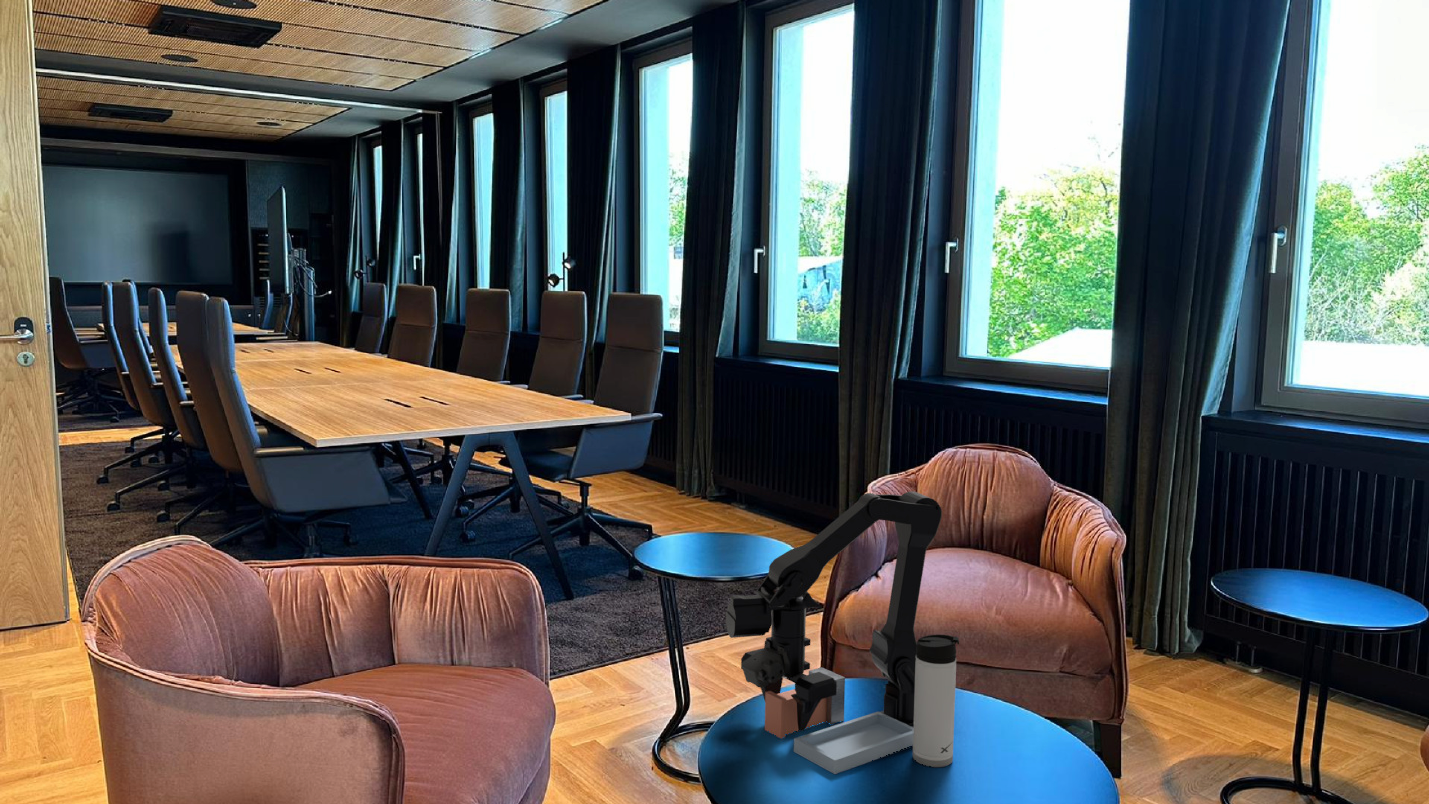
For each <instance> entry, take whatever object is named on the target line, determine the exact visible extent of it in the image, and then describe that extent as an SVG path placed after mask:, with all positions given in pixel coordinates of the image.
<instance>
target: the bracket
mask: <svg viewBox="0 0 1429 804" xmlns="http://www.w3.org/2000/svg"><path fill="white" fill-rule="evenodd" d="M817 672H821V673H823V674H825V675H828V676H830V677H832V678H834V680H835V681H836V682H837V694H836V695H834V696H830V697H827V722H828V723H830V724H831V725H830V724H829V725H830V726H833V725H835V724H834V723H837V722H840V721H841V722H840V723H843V722H845V696H846V693H845V692H846V677H845V676H843V675H840V674H837V673H835V672H834V671H832V670H829V669H826V668H824V667H817V668H814V669H811V670H810V669H809V670H808V675H809V674H813V673H817ZM842 721H843V722H842ZM827 722H826V723H827ZM828 723H827V724H828ZM832 724H833V725H832ZM837 724H838V723H837Z"/></svg>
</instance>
